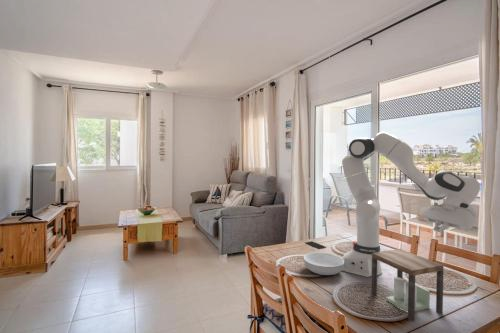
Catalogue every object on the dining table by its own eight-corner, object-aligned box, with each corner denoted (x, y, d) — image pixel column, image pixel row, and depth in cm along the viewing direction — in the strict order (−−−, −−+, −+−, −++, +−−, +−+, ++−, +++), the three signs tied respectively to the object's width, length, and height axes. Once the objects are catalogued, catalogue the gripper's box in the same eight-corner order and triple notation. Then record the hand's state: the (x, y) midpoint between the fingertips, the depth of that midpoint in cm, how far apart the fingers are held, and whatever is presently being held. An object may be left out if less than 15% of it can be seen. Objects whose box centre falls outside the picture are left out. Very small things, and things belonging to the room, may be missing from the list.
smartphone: (319, 248, 181) (304, 242, 194) (319, 249, 181) (304, 243, 194) (326, 247, 184) (312, 241, 198) (326, 248, 184) (312, 242, 198)
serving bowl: (346, 282, 133) (347, 268, 133) (303, 278, 137) (303, 264, 137) (341, 265, 154) (341, 253, 153) (303, 262, 158) (303, 251, 158)
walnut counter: (411, 321, 101) (412, 270, 100) (371, 295, 120) (371, 252, 119) (442, 313, 106) (443, 265, 105) (399, 289, 125) (400, 248, 124)
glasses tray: (408, 296, 119) (408, 274, 119) (429, 307, 110) (429, 284, 110) (386, 300, 116) (386, 278, 115) (406, 313, 106) (407, 289, 106)
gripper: (428, 199, 129) (412, 221, 127) (475, 206, 110) (457, 232, 107) (434, 208, 131) (419, 229, 128) (482, 216, 112) (465, 242, 109)
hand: (437, 231), depth 118 cm, fingers closed
